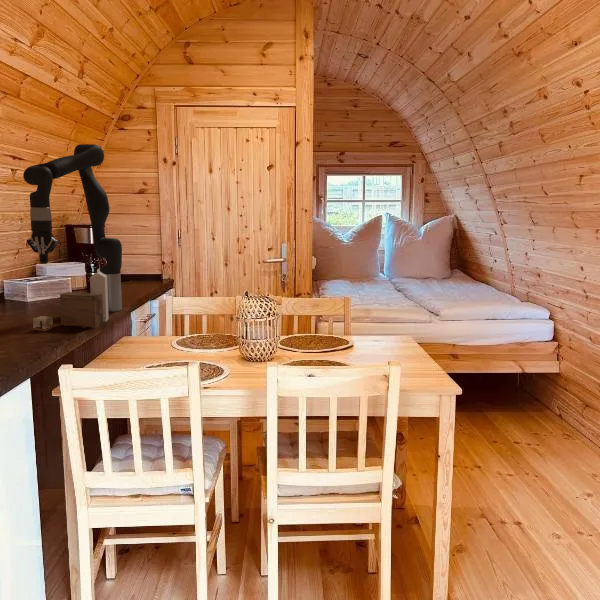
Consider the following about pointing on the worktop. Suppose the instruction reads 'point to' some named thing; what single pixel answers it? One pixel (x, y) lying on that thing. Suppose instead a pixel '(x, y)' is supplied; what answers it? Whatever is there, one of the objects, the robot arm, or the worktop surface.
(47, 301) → the worktop surface
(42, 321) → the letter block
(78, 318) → the walnut panel
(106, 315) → the milk
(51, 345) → the worktop surface
